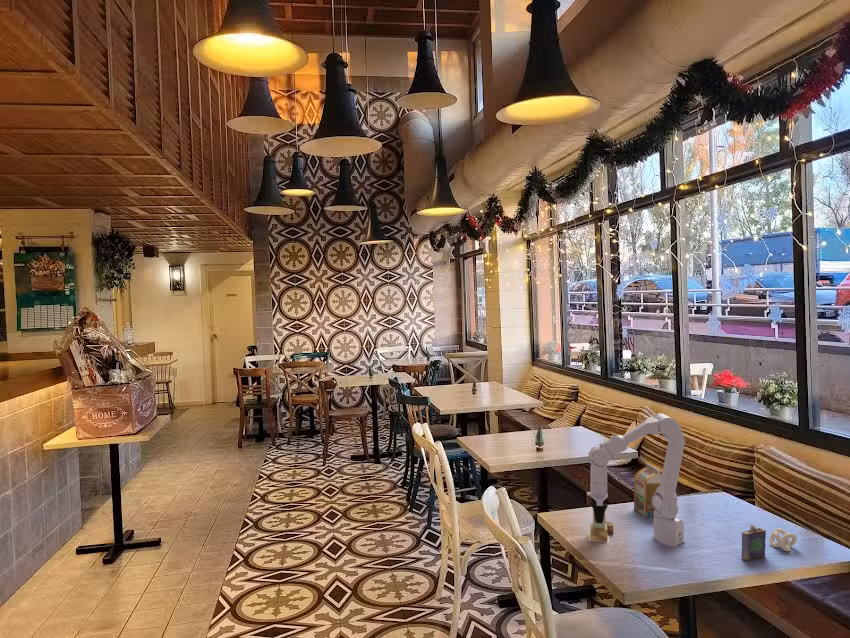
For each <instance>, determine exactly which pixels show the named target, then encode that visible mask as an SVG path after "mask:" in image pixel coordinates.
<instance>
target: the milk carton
mask: <svg viewBox="0 0 850 638" xmlns="http://www.w3.org/2000/svg"><path fill="white" fill-rule="evenodd" d="M661 477H662V473H660V469H659V468H657V467H655V466H654V465H652V464H650V463H648V462H646V466H645V467H643V468H641V469H640V470H638V471H637V472H635V473H634V475H633V510H634V512H636V513H637V514H639V515H640V517H644V518H645V519H649V518H650V519H651V518H653V519H654V511H655V508H654V507H653V505H652V497H653V496H654V495H655V493H656V490H657V488H658V487H659V486H660V482H661Z"/></svg>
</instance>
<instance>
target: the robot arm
mask: <svg viewBox="0 0 850 638" xmlns="http://www.w3.org/2000/svg"><path fill="white" fill-rule="evenodd" d="M681 427H682V426H681V425H680V423H679V422H678V421H676V419H674V418H672V417H670V416H668V415H667V414H665V413H662V412H658V413H656V414H654V415H653V416H649V417H648V418H647V419H645V420H644V421H643V422H641V423H639V424H638V425H637V426H635V427H634V428H632V429H630V430H629V431H628V432H626V433H624V434H623V435H618V434H616V435H613V434H612V435H611V436H610V438H609V439H608V440H606V441H604V442H600V443H598V446H597V445H595V446H593V447H592V448H590V450H589V453H588V457H589V459H590V468H589V469H590V471H589V472H590V473H589V474H590V477H589V478H590V484H589V485H590V487H589V488H590V491H587V492H586V495H587V496H588V497H590V500H591V501H590V506H591V507H592V511H593V510H594V514H595V520H596V523H603V518H604V514H605V515H606V511H607V509H608V507H609V505H608V503H606V501H607V499H608V497H609V494H608V464H609V463H610V459H613V458H614V457H616V456H618V455H619V454H621V453H624V452H625V451H626V450H627V449H628V445H629V444H632V443H633V442H635V441H637V440H639V439H641V438H643V437H645V436H646V435H649V434H650V435H660V434H662V436H663V437H664V439H665V440H666V441H667V446H666V451H665V457H664V462H663V469H662V472H661V475H662V477H661V482H660V486H659V487H658V488H657V490H656V493H655V495H654V496H653V497H652V505H653V507H654V508H655V511H654V518H653V539H654V540H655V541H657V542H658V543H660V544H663V545H666V546H670V547H673V548H674V547H677V546H679V545H680V544H683V543H686V541H685V539H684V538H685V525H684V521H683V520H682V519H680V518H679V517H677V515H678V513H679V507H678V495H677V492H676V491H677V486H678V480H679V477H680V476H679V475H680V470H681V465H682V460H683V455H684V449H685V445H686V439H685V437H684V434H683V431H682V429H681Z"/></svg>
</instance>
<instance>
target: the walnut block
mask: <svg viewBox="0 0 850 638" xmlns="http://www.w3.org/2000/svg"><path fill="white" fill-rule="evenodd" d="M605 524H607V534H608V535H614V524H613V521H605Z"/></svg>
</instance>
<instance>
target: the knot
mask: <svg viewBox="0 0 850 638" xmlns="http://www.w3.org/2000/svg"><path fill="white" fill-rule="evenodd" d="M780 534H782V536H781V535H780ZM790 538H791V539H790ZM768 539H769V544H770V546H772V548H779V547H780V548H781V549H782V550H783V551H784V552H790V550H791V547H792V546H794V545H795V544H796V543H797V541H798V538H797V535H796V534H794V533H791V532H789V533H788V532H787V531H786V530H785V529H783V528H779V527H778V528H774V530H773V531H772V532H771V533H770V535H769V538H768ZM775 540H776V542H775Z"/></svg>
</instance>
